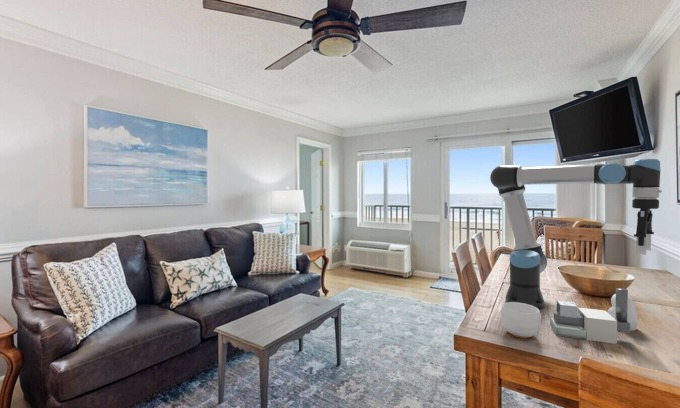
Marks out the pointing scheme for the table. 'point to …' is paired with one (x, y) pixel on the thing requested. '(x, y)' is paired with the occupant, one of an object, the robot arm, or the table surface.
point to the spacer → (567, 309)
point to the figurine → (631, 312)
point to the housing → (599, 325)
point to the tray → (567, 330)
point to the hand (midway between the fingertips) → (643, 252)
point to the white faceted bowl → (521, 319)
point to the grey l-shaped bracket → (619, 314)
